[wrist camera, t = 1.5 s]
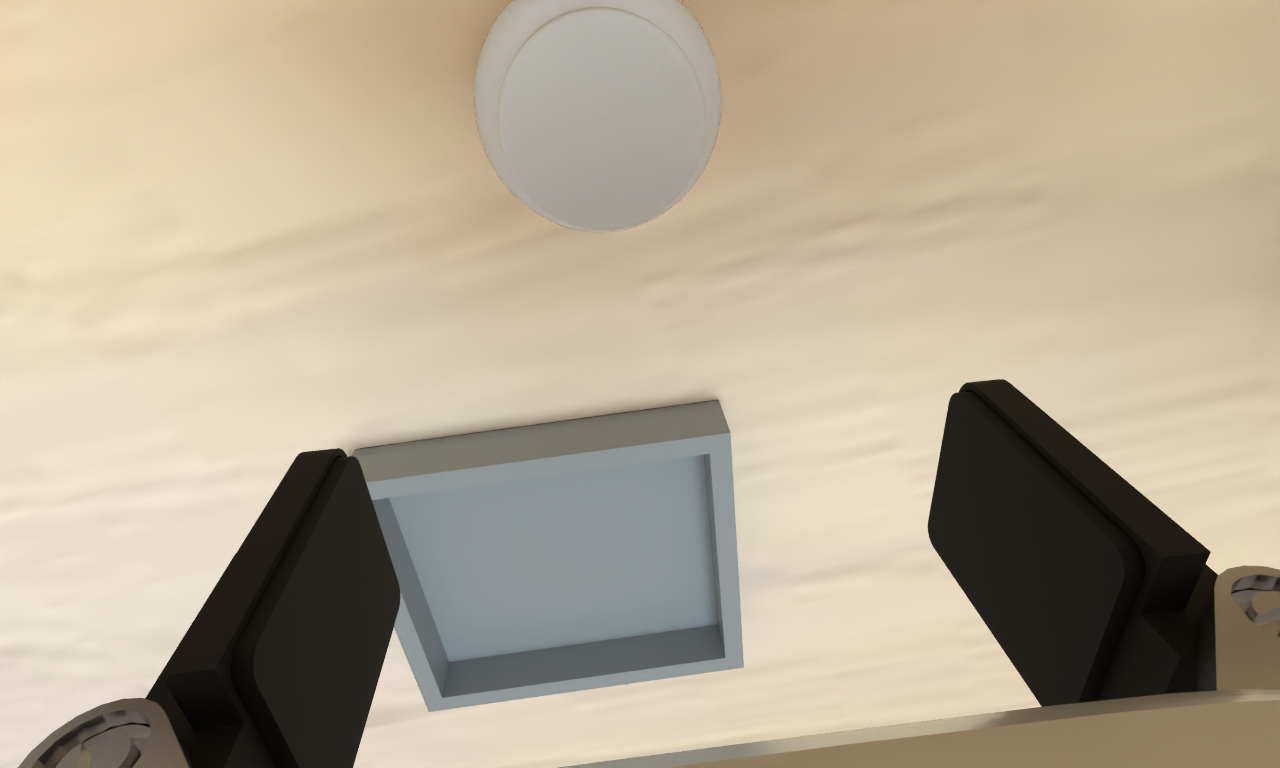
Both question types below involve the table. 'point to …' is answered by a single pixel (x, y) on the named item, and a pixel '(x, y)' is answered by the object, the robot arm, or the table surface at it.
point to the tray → (562, 554)
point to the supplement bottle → (597, 107)
